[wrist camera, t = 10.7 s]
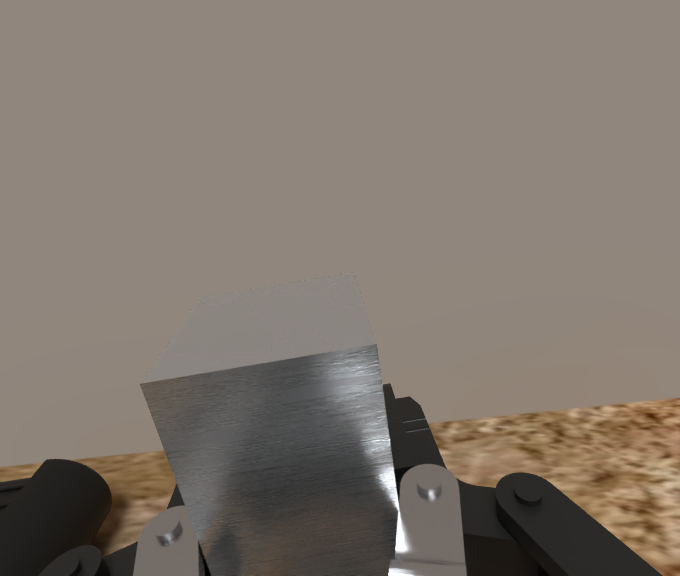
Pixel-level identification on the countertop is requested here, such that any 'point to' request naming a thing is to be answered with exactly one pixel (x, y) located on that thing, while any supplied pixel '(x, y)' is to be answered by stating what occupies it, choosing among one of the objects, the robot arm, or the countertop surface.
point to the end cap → (49, 515)
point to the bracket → (280, 431)
